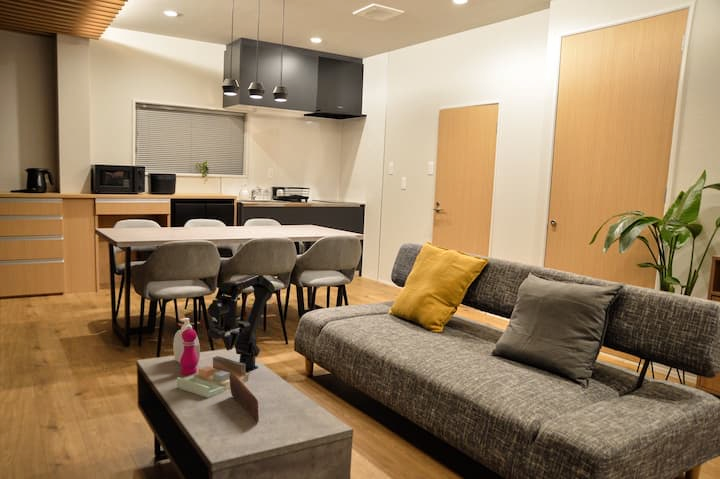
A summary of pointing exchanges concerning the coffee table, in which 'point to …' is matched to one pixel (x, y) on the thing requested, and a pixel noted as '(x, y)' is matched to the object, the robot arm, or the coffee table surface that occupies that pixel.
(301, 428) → the coffee table surface
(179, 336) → the soap bottle
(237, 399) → the wooden tablet
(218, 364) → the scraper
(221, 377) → the grey square block
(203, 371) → the terracotta tile
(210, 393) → the tray
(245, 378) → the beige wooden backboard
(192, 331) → the pepper mill
